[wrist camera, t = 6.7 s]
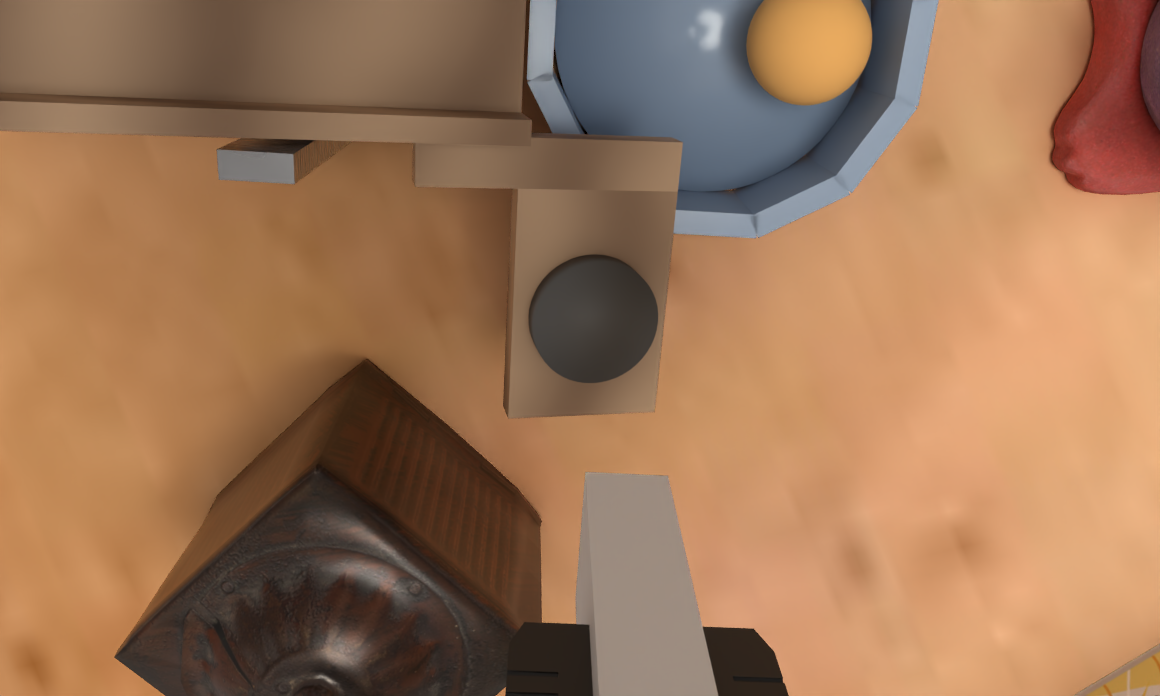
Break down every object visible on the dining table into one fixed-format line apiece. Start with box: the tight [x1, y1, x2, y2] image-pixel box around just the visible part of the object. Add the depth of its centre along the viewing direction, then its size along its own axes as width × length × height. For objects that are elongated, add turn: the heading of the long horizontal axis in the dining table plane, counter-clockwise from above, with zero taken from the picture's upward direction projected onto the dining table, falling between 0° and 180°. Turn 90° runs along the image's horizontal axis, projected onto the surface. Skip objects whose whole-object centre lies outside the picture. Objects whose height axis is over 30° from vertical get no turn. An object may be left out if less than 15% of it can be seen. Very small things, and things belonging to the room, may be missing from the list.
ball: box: [746, 0, 872, 105], centre depth 30 cm, size 4×4×4 cm
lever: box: [0, 0, 683, 418], centre depth 25 cm, size 22×15×4 cm
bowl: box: [527, 0, 938, 238], centre depth 31 cm, size 13×13×4 cm
